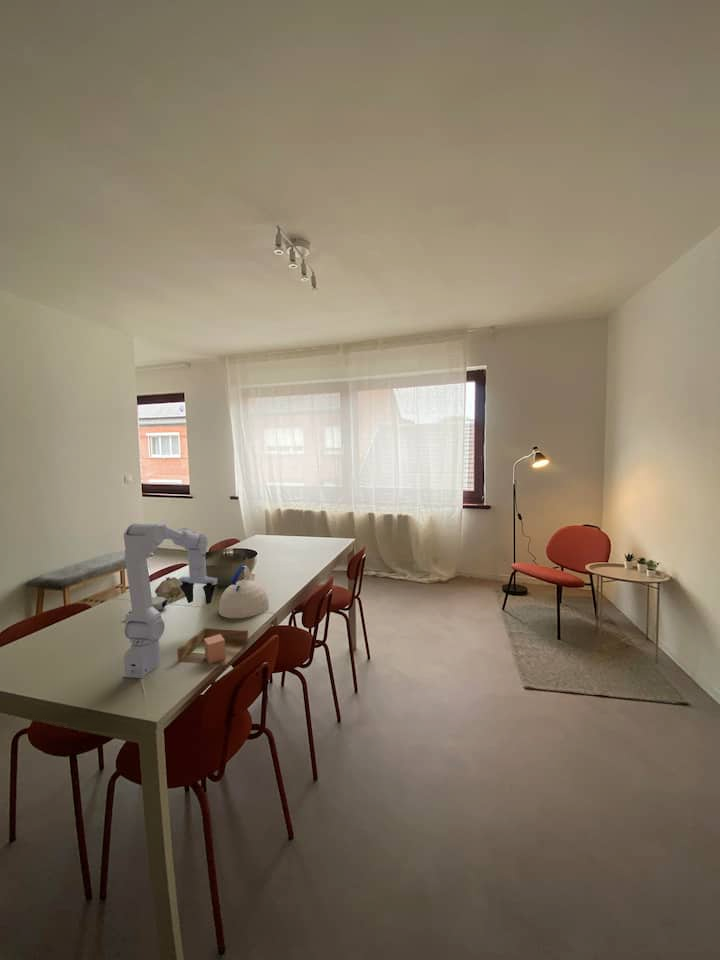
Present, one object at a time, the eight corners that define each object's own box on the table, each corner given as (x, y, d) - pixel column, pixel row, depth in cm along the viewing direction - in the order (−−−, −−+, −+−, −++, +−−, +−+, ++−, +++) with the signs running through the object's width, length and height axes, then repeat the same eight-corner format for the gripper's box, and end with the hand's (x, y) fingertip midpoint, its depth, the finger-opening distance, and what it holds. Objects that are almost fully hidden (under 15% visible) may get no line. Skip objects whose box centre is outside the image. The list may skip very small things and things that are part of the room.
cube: (225, 658, 123) (224, 639, 122) (209, 663, 120) (207, 644, 120) (221, 652, 127) (220, 634, 127) (205, 657, 124) (203, 638, 124)
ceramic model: (162, 606, 170) (160, 583, 169) (147, 602, 176) (146, 580, 175) (191, 595, 182) (190, 574, 181) (176, 591, 188) (175, 571, 187)
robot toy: (153, 622, 156) (173, 605, 170) (152, 612, 155) (171, 595, 170) (123, 623, 156) (145, 605, 171) (122, 612, 155) (144, 595, 170)
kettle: (275, 599, 174) (273, 559, 173) (259, 619, 153) (256, 574, 152) (231, 599, 176) (229, 559, 175) (209, 618, 156) (206, 574, 154)
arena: (225, 667, 119) (224, 652, 119) (178, 663, 122) (177, 648, 122) (248, 643, 134) (247, 629, 134) (205, 640, 137) (205, 627, 137)
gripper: (221, 564, 147) (223, 599, 148) (187, 562, 150) (189, 597, 151) (210, 569, 140) (212, 606, 141) (174, 568, 143) (176, 604, 144)
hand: (199, 602), depth 146 cm, fingers open, 7 cm apart
